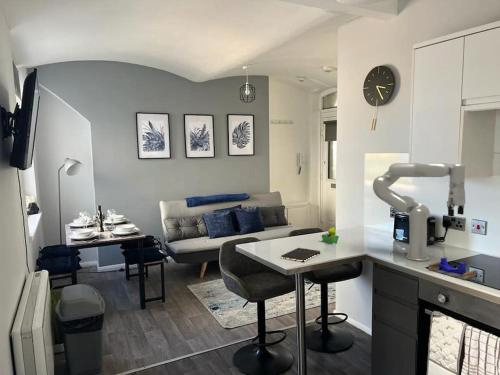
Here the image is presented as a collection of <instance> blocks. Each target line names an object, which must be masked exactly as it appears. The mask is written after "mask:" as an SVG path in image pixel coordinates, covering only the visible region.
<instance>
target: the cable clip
mask: <svg viewBox="0 0 500 375" xmlns="http://www.w3.org/2000/svg"><path fill="white" fill-rule="evenodd" d="M440 262H441V264H439V270H442V271H446V272H449V273H450V272H453V273H456V274H460V275H463V274H464V273H465V272H467V270H466V269H467V265H466V262H460V263H459V265H458V267H457V268H454V267H452V266H451V265H450V264H449V263H448V259H447V257H441V258H440Z"/></svg>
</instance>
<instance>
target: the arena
mask: <svg viewBox="0 0 500 375" xmlns="http://www.w3.org/2000/svg"><path fill="white" fill-rule="evenodd" d="M439 264H441V261H437V262H434V263H430V264H428V266H427V267H428V268H427V270H428V271H431V272H433V273H437V274H441V275H445V276H448V277H452V278H456V279H458V278H459V280H463V281H468V280H469V279H472V278H476V277H477V276H478V275H477V273H478V271H477V270H475V269H474V270H471V271H470V270H469V271H468V272H467V271H465V273H464V274H463V275H460V274H456V273H453V272H450V273H449V272H446V271H442V270H439Z"/></svg>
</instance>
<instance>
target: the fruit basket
mask: <svg viewBox="0 0 500 375" xmlns="http://www.w3.org/2000/svg"><path fill="white" fill-rule="evenodd" d="M327 231H328V233H323V234H321V238H322V241H323V243H326V242H328V243H327V244H329V243H331V244H330V245H334V244H333V243H335V244H338V241H339V238H340V236H339V235H336V233H337V229H336V227H335V226H331V227H330V228H329V229H328V230H327Z"/></svg>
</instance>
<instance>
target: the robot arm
mask: <svg viewBox="0 0 500 375" xmlns="http://www.w3.org/2000/svg"><path fill="white" fill-rule="evenodd" d="M465 174H466V165H465V164H464V163H452V164H451V163H442V162H441V163H419V162H403V163H402V162H395V163H394V162H393V163H392V164H391V165H389V167H388V169H387V171H386V172H385V173H384V174H383V175H379V176H377V177H375V178H374V180H373V182H372V190H373V193H374V194H375V196H376V197H378V199H379V200H381V201H383V202H384V203H386V204H387V205H389V206H390V207H392V208H393V209H395V210H396V211H398V212H400V213H407V214H409V216H408V221H409V245H408V246H409V247H408V248H409V249H408V248H405V249H404V250H403V253H407V254H406V256H405V257H406V259H408V260H411V261H417V262H426V261H429V259H430V256H428V255H427V238H428V236H427V235H428V218H429V217H430V213H431V212H430V209H429V208H428V207H427V206H426V205H425V204H423V203H421V202H420V201H418V200H416V199H415V198H413V197H411V196H408V195H400V194H398V193H397V192H396V191H394V190H392V189H390V187H391V186H393V184H395V183H396V182H397V181H398V180H399V179H400V178H443V177H449V183H448V188H449V190H448V197H447V199H448V200H447V201H446V207H447V216H448V217H454V216H455V209H454V208H455V207H457V215H462V216H464V214H465V213H464V212H465V211H464V209H465V205H466V190H465V180H466V178H465V177H466V175H465Z"/></svg>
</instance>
